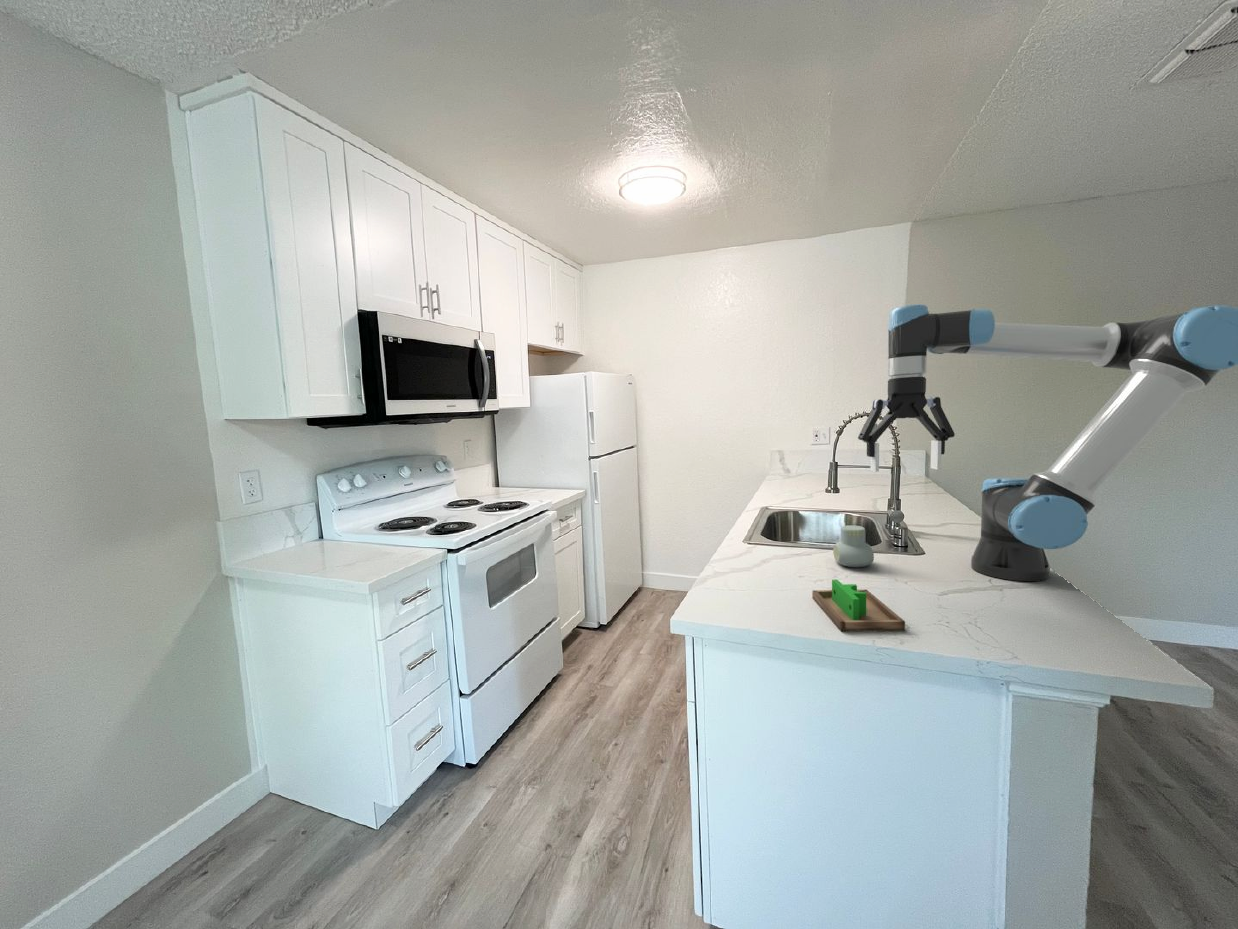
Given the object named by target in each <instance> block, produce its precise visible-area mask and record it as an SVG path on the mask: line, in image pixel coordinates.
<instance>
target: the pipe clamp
mask: <svg viewBox="0 0 1238 929" xmlns="http://www.w3.org/2000/svg"><path fill="white" fill-rule="evenodd" d="M831 590H832V600H833V601H834V602H835V603H836V604H837V605H838V606H839V607H840V609H841V610H842V611H843V612H844V613H845V614H846V615H847V616H848V617H849V618H850V619H851V620H859V615H866V593H865V592H859V591H857V590H858V585H857V584H855V583H853V584H852V583H851V584H849V583H848V584H845V583H842V582H840V580H838V579H832V580H831Z"/></svg>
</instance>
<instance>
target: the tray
mask: <svg viewBox="0 0 1238 929" xmlns="http://www.w3.org/2000/svg"><path fill="white" fill-rule="evenodd" d="M811 591H812V593H811V594H812V600H813V601H814V603H816V604H817V605H818V607H819V608H820V609H821V610H822V611H823V613H825V616H827V618H829V619H830V621H831V622H832V623H833V624H834V625H835V626H836V628H837V629H838V630H839V631H840V632H904V631H906V620H904V619H903V618H901V616H899V615H898V614H897V613H895V612H894V611H893V610H892V609H891V608H889V607H888V605H886V604H885V603H883V602H882V600H880V599H879V598H878V597H876V596H875V595H874V594H872V592H870V591H869V590H868V589H857V591H859V592H865V593H866V615H859V620H851V619H850V618H849V617H848V616H847V615H846V614H845V613H844V612H843V611H842V610H841V609H840V607H839V606H838V605H837V604H836V603H835V602H834V601H833V600H832V589H826V590H825V589H822V590H818V589H817V590H814V589H813V590H811Z"/></svg>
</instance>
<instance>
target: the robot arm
mask: <svg viewBox="0 0 1238 929" xmlns="http://www.w3.org/2000/svg"><path fill="white" fill-rule="evenodd" d="M888 321H889V322H888V323H889V324H888V330H887V332H888V340H887V341H888V342H887V343H888V345H887V346H888V348H887V350H888V351H887V352H888V356H887V358H888V359H887V360H888V362H887V375H888V377H890V378H889V379H888V380H887V399H886V400H883V399H874V400H873V402H872V408H871V410H870V413H869V414H868V417H867V419H866V421H865V423H864V425H863V426H862V429H861V430H860V432H859V434H858V437H857V439H858V440H859V441H863V442H865V444H866V457H867V458H870V459H869V460H870V463H869V464H870V466H869V468H870V471H872V472H875V473H877V472H880V442H877V440H879V438H880V437H881V436H882V435H883V434H884V433H885V432H886V430H887V429H888V428H889V427H890V426H891V424H892V423H893V422H894V421H896V420H897V419H906V418H907V419H916V420H918V421H919V422H920V424H921V425H923V427H924V428H925V429H926V430H927V431H928V432H929V434H930V435H931V436H932V437H933V438H934V440H931V441H930V444H931V445H930V469H931V470H937V471H938V470H939V471H940V470H941V469H942V455H945V451H946V441H948V440H949V439H951V438H954V437H955V432H954V429H953V428H952V426H951V424H950V422H949V419H948V418H947V415H946V414H945V412H944V410H943V407H942V402H941V397H939V396H935V397H934V396H932V397H929V398H926V390H927V378H926V377H925V376H924V375H926V374H927V356H928V354H927V353H930V354H935V355H943V354H960V355H961V354H967V355H978V356H980V355H983V356H993V357H994V356H996V357H997V356H998V357H1011V358H1026V359H1041V360H1042V359H1044V360H1061V361H1074V362H1075V361H1076V362H1088V363H1089V362H1091V363H1092V364H1093V366H1095V367H1097V368H1108V369H1109V368H1111V369H1119V370H1126V371H1131V374H1130V375H1129V376H1128V377H1127V379H1126V380H1124V382H1123V383H1122V384H1121V385H1120V386H1119V387H1118V389H1117V390H1116V391H1115V392H1114V393H1113V394H1112V396H1111V397H1110V398H1109V399H1108V400H1107V402H1106V403H1105V404H1104V405H1103V406H1102V407H1101V408H1100V410H1099V411H1098V412H1097V413H1096V414H1095V415H1094V416H1093V418H1092V419H1091V420H1090V421H1089V422H1088V423H1087V425H1086V426H1085V427H1084V428H1083V429H1082V430H1081V431H1080V432H1079V434H1078V435H1077V436H1076V437H1075V439H1073V440H1072V442H1071V443H1070V444H1069V445H1068V446H1067V448H1066V449H1065V450H1064V451H1063V452H1062V453H1061V455H1059V456H1058V458H1057V459H1056V460H1055V462H1053V464H1052V465H1050V467H1049V468H1048V469H1047V470H1045V471H1042V472H1041V471H1040V472H1035V473H1033V474H1032V475H1031V476H1030V478H987V479H985V480H984V481H983V482H982V489H981V491H980V492H981V513H980V514H981V518H980V537H979V541H978V543H977V545H976V547H975V549H974V552H973V555H972V556H971V559H970V560H971V561H970V562H971V563H970V568H971V569H972V570H974V571H976V572H977V573H979V574H982V575H986V576H989V577H993V578H996V579H997V578H999V579H1003V580H1009V581H1016V582H1018V581H1019V582H1041V581H1040V580H1042V581H1046V580H1048V579H1050V578H1051V577H1050V576H1051V567H1050V566H1051V565H1050V564H1049V561H1048V559H1047V556H1046V553H1045V550H1058V549H1064V548H1066V547H1069V546H1071V545H1074V543H1077V542H1078V541H1079V540H1081V538H1082V537H1083V536H1084V535H1085V533H1086V531H1087V529H1088V524H1089V522H1088V514H1089V513H1090V512H1091V511H1092V509H1094V507H1095V506H1096V505H1097V503H1096V499H1095V497H1094V496H1095V495H1094V494H1095V493H1096V492H1097V490H1098V489H1099V488H1100V487H1101V486H1102V485H1103V484H1104V483H1105V482H1106V480H1107V479H1109V477H1110V476H1111V475H1112V474H1113V473H1114V471H1116V470H1117V468H1119V467H1120V466H1121V464H1122V463H1123V462H1124V461H1125V460H1126V459H1127V457H1129V455H1130V454H1131V453H1132V452H1133V451H1134V450H1135V449H1136V448H1137V447H1138V446H1139V444H1141V442H1142V441H1143V440H1144V439H1145V438H1146V437H1147V436H1148V434H1150V432H1151V431H1153V429H1154V428H1155V427H1156V426H1157V425H1158V424H1159V423H1160V422H1161V421H1162V419H1163V418H1164V417H1165V416H1166V415H1167V414H1168V413H1169V412H1170V411H1171V410H1172V408H1173V407H1174V406H1175V405H1176V404H1177V403H1178V402H1179V401H1180V400H1181V399H1182V398H1183V397H1184V395H1185V394H1188V393H1190V392H1191V393H1192V392H1196V391H1201V390H1203V389H1204V388H1205V387H1206V386H1207V385H1208V384H1209V383H1210V382H1211V381H1212V380H1213V378H1215V376H1216V375H1217V374H1218V373H1219V372H1220V371H1221V370H1226V369H1230V368H1232V367H1235V366H1237V365H1238V307H1236V306H1231V305H1223V304H1222V305H1212V306H1206V305H1205V306H1200V307H1199V306H1198V307H1195V308H1193V309H1190V310H1188V311H1183V312H1179V313H1175V314H1171V315H1166V316H1165V315H1164V316H1161V317H1156V318H1153V319H1148V320H1142V321H1141V320H1140V321H1135V322H1109V323H1106V324H1105V325H1103V326H1089V325H1088V326H1086V325H1085V326H1083V325H1059V324H1041V323H1039V324H1038V323H1036V324H1035V323H1016V322H1015V323H1014V322H1013V323H1012V322H995V315H994V313H993V311H992V310H990V309H985V308H984V309H975V308H974V309H972V308H971V309H970V310H969V309H968V310H961V311H949V312H941V313H940V312H939V313H930V312H929V309H928V306H927V305H926V304H910V305H903V306H899V307H896V308H894V309H893V310H891V311H890V313H889V320H888ZM926 406H927V407H928V408H929V409H930V412H931V414H932V415H933V416H932V417H933V419H934V420H935V421H936V424H935V422H934V421H933V420H932V419H931V417H930V416H929V414H928V413H927V412H926V411H925V409H924V408H925V407H926ZM885 407H887V409H888V411H887V412H886V413H885V415H884V417H883V418H882V420H880V422H879V423H878V424H877V425H876V423H877V422H878V419H879V418H880V416H881V413H882V412H883V410H884V409H885ZM875 426H876V427H875ZM874 427H875V428H874ZM1047 578H1048V579H1047ZM1045 579H1046V580H1045Z"/></svg>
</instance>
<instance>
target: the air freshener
mask: <svg viewBox="0 0 1238 929" xmlns="http://www.w3.org/2000/svg"><path fill="white" fill-rule="evenodd" d="M832 552H833V558H834V560H835V562H836V563H838V564H840V565H841V566H844V567H847V566H848V568H864V567H867V566H869V565H871V564H872V563H873V562H874V560H875V554H874V551H873V549H872V546H871V545H870V544H868V543H866V528H865V527H864V526H861V525H854V524H853V525H842V526H841V527H840V541H839V542H836V543H835V544H833V549H832Z"/></svg>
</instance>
